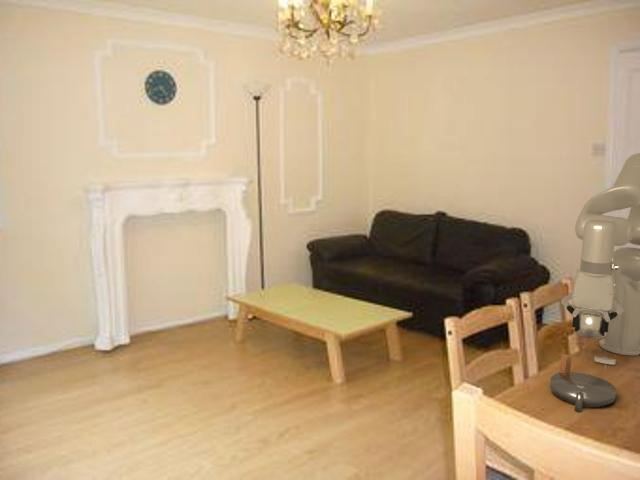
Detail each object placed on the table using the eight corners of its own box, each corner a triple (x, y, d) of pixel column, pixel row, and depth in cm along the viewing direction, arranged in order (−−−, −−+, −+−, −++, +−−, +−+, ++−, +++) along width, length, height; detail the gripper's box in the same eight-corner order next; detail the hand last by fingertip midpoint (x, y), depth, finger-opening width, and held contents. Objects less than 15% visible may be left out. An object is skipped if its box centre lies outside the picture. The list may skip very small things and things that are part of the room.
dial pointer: (575, 405, 142) (577, 389, 141) (582, 407, 141) (584, 390, 140) (574, 411, 139) (576, 394, 138) (581, 412, 138) (583, 395, 138)
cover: (578, 329, 161) (580, 308, 160) (602, 333, 158) (605, 312, 157) (575, 336, 156) (577, 314, 155) (600, 340, 153) (602, 318, 152)
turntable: (537, 382, 152) (539, 357, 150) (584, 376, 156) (586, 351, 155) (579, 409, 138) (582, 381, 136) (629, 401, 142) (632, 374, 141)
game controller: (612, 361, 172) (613, 352, 171) (626, 377, 161) (627, 368, 160) (591, 359, 173) (592, 351, 172) (604, 375, 161) (605, 366, 161)
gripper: (633, 267, 152) (625, 333, 156) (562, 260, 160) (556, 322, 164) (632, 274, 146) (625, 342, 150) (559, 266, 154) (553, 331, 158)
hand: (589, 331), depth 157 cm, fingers closed on cover, 6 cm apart
